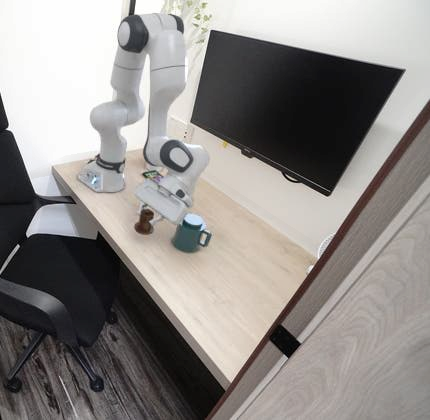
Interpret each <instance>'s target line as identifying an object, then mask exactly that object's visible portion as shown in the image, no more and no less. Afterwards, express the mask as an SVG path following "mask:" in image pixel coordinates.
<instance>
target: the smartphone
mask: <svg viewBox="0 0 430 420" xmlns="http://www.w3.org/2000/svg"><path fill="white" fill-rule="evenodd" d="M142 175H143V176H144V177H145V178H146V179H147V178H152V177H153V178H155V179H156V180H158V181H161V180H162V179H163V177H164V176H165V175H163V174H161V173H160V172H159V171H155V170H153V171H150V170H148V171H144V172H142Z"/></svg>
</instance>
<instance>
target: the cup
mask: <svg viewBox="0 0 430 420" xmlns="http://www.w3.org/2000/svg"><path fill="white" fill-rule="evenodd" d="M167 139H170V138H169V137H168V136H167ZM145 169H147V170H148V171H153V170H155V171H157V172H161V171H162V170H163V167H159V166H151V165H149V164H148V163H147V162H146V161H145Z"/></svg>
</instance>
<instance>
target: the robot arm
mask: <svg viewBox="0 0 430 420" xmlns="http://www.w3.org/2000/svg"><path fill="white" fill-rule="evenodd" d="M184 33H185V24H184V21H183V19H182V17H180V16H178V15H176V14H173V13H167V14H166V13H161V12H152V13H142V14H137V13H136V14H135V13H134V14H130V15H128V16H125V17H124V18H123V19H122V20H121V21H120V23H119V25H118V28H117V33H116V34H117V42H118V45H117V49H116V52H115V55H114V60H113V65H112V71H111V74H110V75H111V76H110V82H109V83H110V86H111V88H112V89H113V90H114V91H115V92H116V97H115V100H111V101H105V102H102V103H100V104H98V105H96V106H94V107H92V109H91V111H90V113H89V123H90V125H91V126H92V128H93V129H94V130H95V131H96V132H97V133H98V134H99V137H100V149H99V153H97V154H96V155H94V159H89V161H87V163H86V165H85V166H84V168H83V169H82V171H81V172H80V173H79V174H78V175H77V179H78V180H79V181H80V182H82V183H83V184H84V185H85V186H87V187H88V188H90V189H91V190H93V191H94V192H96V193H116V192H121V191H122V190H123V189H124V188H125V182H124V178H125V175H124V170H125V167H126V159H127V157H126V152H127V147H128V141H127V139H126V138H125V137H124V136H123V135H121V129H122V128H124V127H129V126H131V125H134V124H136V123H138V122H139V121H141V120H142V119H143V118H144V117H145V114H146V106H145V103H144V101H143V99H141V96H140V85H141V80H142V77H143V73H144V67H145V64H146V58H147V56H148V57H149V103H148V115H147V116H148V117H147V136H146V139H145V143H144V145H143V149H142V156H143V160H144V161H145V163H146V162H147V163H148V164H149V165H151V166H159V167H162V169H163V168H164V169H166V170H167V172H166V174H165V175H163V176H164V177H163V179H162V180H161V181H158V180H156V179H155V178H153V177H152V178H146V179H145V180H144V181H143V182H142V183H141V184H139V186H137V188H135V190H134V191H133V196H134V197H136V198H137V199H138V200H139V201H141V203H140V204H139V205H140V206H139V209H138V210H137V212H136V215H138V217H140V212H141V210H143V209H147V207H149V209H152V211H155V212H156V213H157V217H155V218H153V219H151V220H150V221H149V223H150V224H151V225H152V226H153V227H154V226H155V225H156V224H157V223H159V222H162V221H163V220H164V219H166V220H167V221H168V222H170V223H171V224H173V225H174V226H177V225H179V224H180V223H181V222H182V221H183V220H184V218H185V217H186V216H187V214H189V212H190V208H192V207H193V206H194V204H195V203H194V201H193V199H192V200H191V199H190V197H189V195H188V194H187V193H186V191H187V190H188V189H189V187H190V185H191V184H192V183H193V182H194V181H195V180H197V179H198V177H199V178H200V177H201V175H202V174H203V172H204V171H205V170H206V169H207V167H208V165H209V163H210V160H211V157H210V155H209V153H208V151H207V150H206V149H205V148H204V147H203V146H202V145H199V144H191V143H186V142H183V141H181V140H179V139H175V138H169V139H167V137H168V136H167V129H168V128H167V127H168V113H169V109H170V108H171V106H172V104H174V102H175V101H176V100H177V99H178V98H179V97H180V96H181V95H182V94H183V93H184V91H185V89H186V85H187V81H188V53H187V46H186V41H185V35H184ZM198 180H199V179H198Z"/></svg>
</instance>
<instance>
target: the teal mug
mask: <svg viewBox="0 0 430 420" xmlns="http://www.w3.org/2000/svg"><path fill="white" fill-rule="evenodd" d="M206 228H207V223H206V222H205V220H204V219H203V217H201V216H200V215H197V214H196V213H195V214H194V213H188V214H187V216H186V217H185V218H184V220H183V221H182V222H181V223H180V224H179V225H176V227H175V231H174V234H173V238H172V241H171V243H172V245H173V246H174V248H176V249H177V250H179V251H180V252H183V253H189V254H191V253H195V252H196V251H198V249H199V246H200V247H201V248H207V247H208V246H209V244H210V241H211V240H212V237H213V234H212V231H209V230H208V229H206ZM204 235H206V237H205V240H204V242H203V241H202V239H203V236H204Z"/></svg>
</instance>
